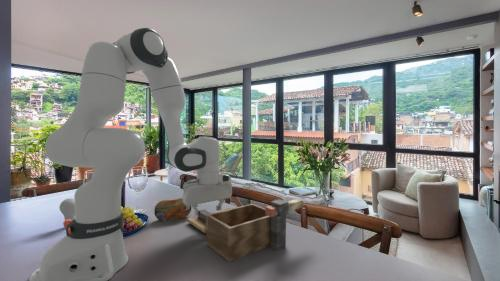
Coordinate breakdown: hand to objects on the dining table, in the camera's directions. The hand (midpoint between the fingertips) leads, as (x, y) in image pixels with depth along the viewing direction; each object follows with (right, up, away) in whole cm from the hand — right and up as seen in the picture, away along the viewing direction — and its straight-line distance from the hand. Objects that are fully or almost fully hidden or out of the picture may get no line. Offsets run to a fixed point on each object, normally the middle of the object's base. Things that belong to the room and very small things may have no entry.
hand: (208, 212), depth 99 cm
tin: (-16, -5, +8) cm, 19 cm away
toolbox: (+15, -7, -15) cm, 23 cm away
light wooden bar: (+28, +5, -14) cm, 32 cm away
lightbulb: (-54, -5, -1) cm, 54 cm away
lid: (+4, -6, +2) cm, 8 cm away
